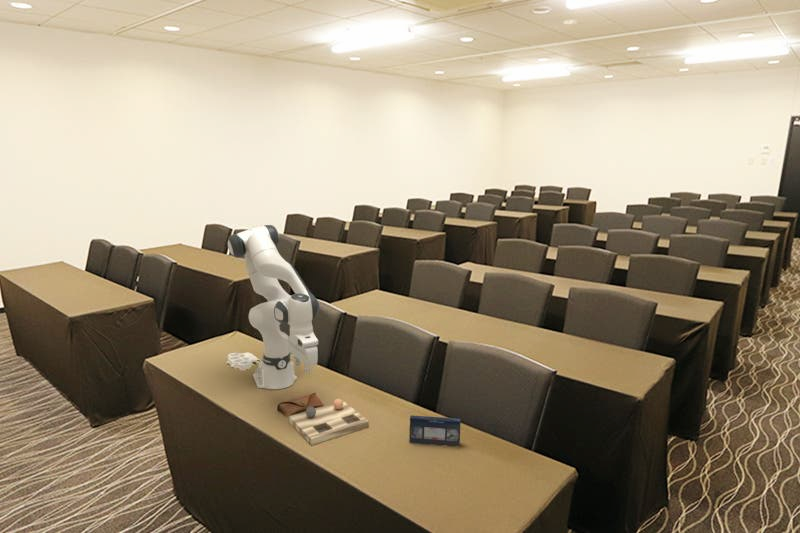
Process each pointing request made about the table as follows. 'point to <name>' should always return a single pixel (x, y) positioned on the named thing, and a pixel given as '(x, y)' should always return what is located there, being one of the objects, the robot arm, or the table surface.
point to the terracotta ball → (338, 404)
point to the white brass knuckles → (241, 360)
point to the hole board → (328, 423)
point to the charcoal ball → (310, 411)
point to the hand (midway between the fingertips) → (302, 369)
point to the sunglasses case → (299, 405)
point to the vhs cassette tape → (434, 430)
